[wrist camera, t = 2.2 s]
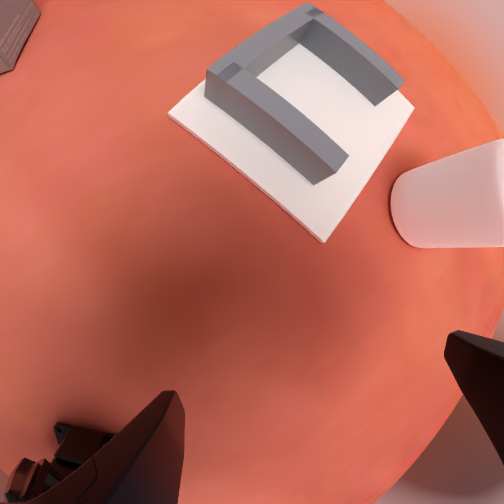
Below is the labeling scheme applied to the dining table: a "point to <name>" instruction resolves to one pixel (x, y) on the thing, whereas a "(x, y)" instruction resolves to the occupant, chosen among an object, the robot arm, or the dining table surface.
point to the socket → (300, 114)
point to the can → (453, 200)
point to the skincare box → (15, 29)
